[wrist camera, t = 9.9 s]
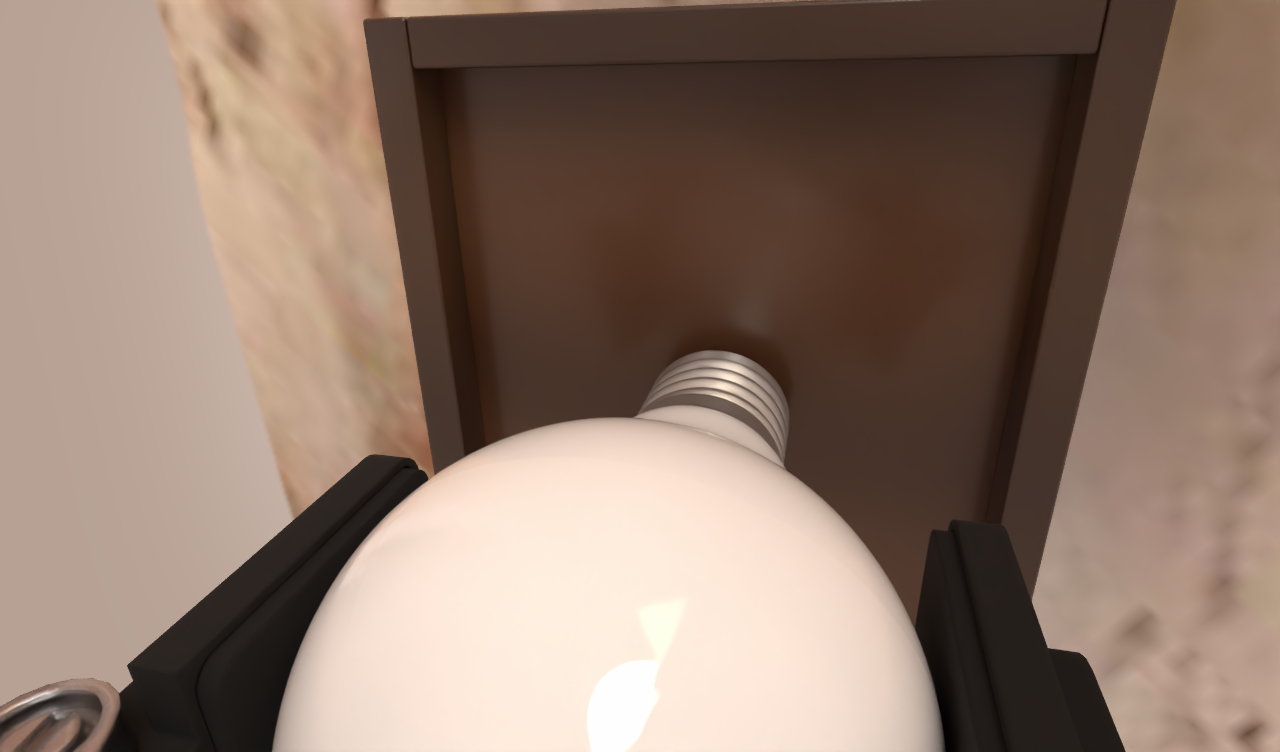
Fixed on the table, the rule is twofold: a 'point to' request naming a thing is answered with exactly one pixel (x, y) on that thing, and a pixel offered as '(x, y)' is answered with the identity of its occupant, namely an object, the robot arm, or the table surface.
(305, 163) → the table surface
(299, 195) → the table surface
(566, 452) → the lightbulb
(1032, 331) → the tray
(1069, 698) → the robot arm
